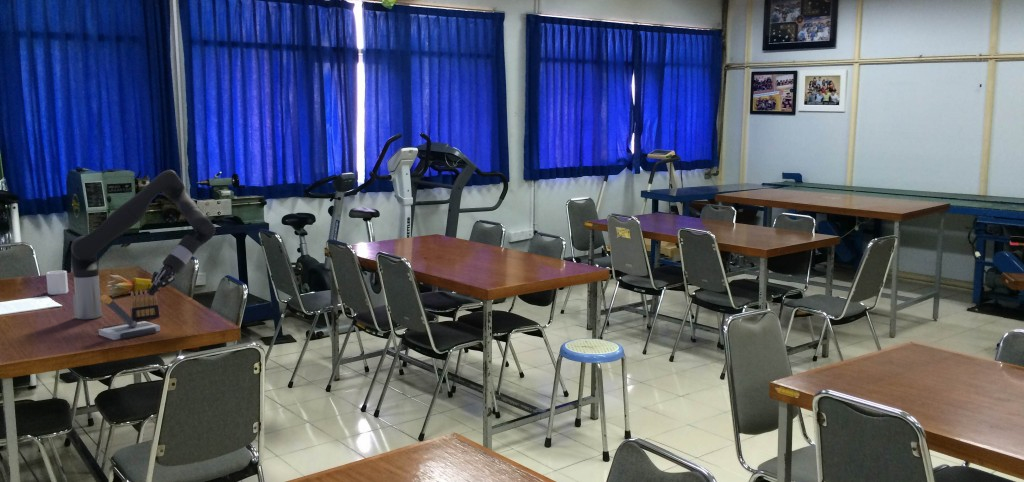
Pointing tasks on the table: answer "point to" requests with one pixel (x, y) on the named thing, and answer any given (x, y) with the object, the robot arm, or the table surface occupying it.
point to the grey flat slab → (125, 329)
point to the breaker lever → (118, 310)
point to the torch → (128, 285)
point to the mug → (57, 282)
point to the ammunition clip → (144, 306)
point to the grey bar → (115, 325)
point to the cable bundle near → (138, 333)
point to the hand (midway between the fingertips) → (149, 294)
